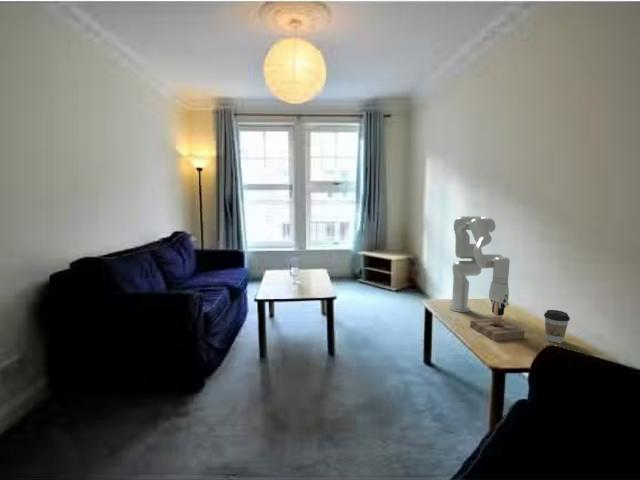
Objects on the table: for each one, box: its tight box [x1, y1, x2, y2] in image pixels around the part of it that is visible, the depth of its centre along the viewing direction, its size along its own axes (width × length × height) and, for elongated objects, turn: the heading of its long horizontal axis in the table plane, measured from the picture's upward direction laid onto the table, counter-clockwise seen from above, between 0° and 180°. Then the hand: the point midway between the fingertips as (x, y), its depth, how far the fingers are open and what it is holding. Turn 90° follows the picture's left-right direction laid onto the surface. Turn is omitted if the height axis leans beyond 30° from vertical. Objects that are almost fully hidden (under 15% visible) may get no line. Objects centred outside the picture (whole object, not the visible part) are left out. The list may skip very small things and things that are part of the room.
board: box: [469, 318, 526, 342], centre depth 206 cm, size 20×18×4 cm
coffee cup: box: [543, 309, 571, 343], centre depth 195 cm, size 11×11×15 cm
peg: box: [492, 301, 503, 324], centre depth 204 cm, size 4×4×14 cm
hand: (497, 313), depth 205 cm, fingers closed on peg, 4 cm apart
